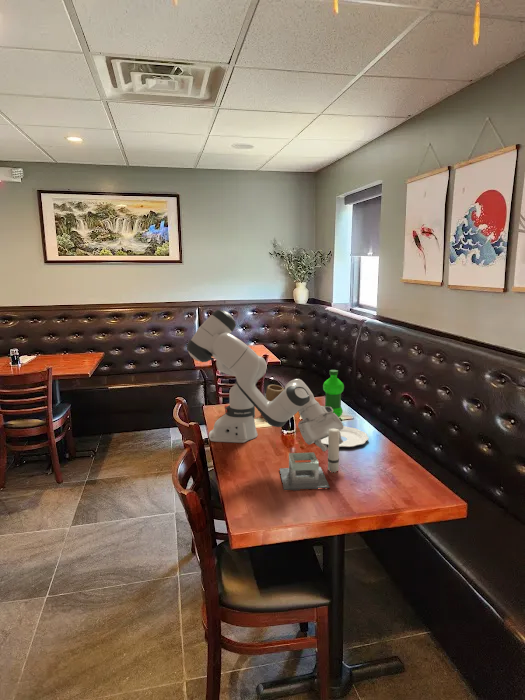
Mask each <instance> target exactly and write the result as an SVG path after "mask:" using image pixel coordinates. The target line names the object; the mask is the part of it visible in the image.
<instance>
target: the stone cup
mask: <svg viewBox="0 0 525 700" xmlns="http://www.w3.org/2000/svg"><path fill="white" fill-rule="evenodd" d="M284 389H285V387H282V386H281V385H279V384H268V385H267V386H266V392H265V398H266V399H267V400H268V401H273V400H274V399H275V398H276V397H277V396H278V395H279V394H280V393H281V392H282V391H283V390H284Z"/></svg>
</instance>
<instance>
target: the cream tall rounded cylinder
mask: <svg viewBox="0 0 525 700" xmlns="http://www.w3.org/2000/svg"><path fill="white" fill-rule="evenodd" d="M327 447H328V449H327V471H328V470H329V471H331V472H330V473H333V472H334V473H337V472H336V471H338V472H339V466H340V465H339V463H340V447H339V430H338V429H329V437H328V445H327ZM329 471H328V472H329Z"/></svg>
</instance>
